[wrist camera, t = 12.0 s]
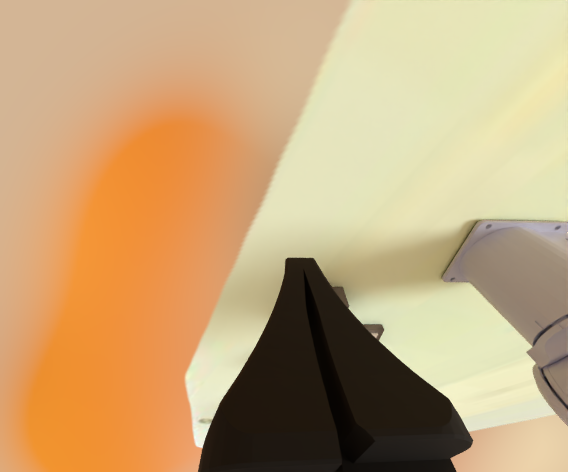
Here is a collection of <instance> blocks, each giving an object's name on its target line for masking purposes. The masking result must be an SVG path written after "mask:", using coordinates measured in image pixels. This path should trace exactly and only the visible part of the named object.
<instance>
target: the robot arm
mask: <svg viewBox="0 0 568 472" xmlns="http://www.w3.org/2000/svg"><path fill="white" fill-rule="evenodd" d="M442 280H443V281H444V282H470V283H471V284H472V285H473V286H474V287H475V288H476V289H477V290H478V291H479V292H480V293H481V294H482V296H483V297H484V298H485V299H486V300H487V301H488V302H489V303H490V304H491V305H492V306H493V307H494V308H495V309H496V310H497V311H498V312H499V313H500V314H501V315H502V316H503V317H504V318H505V319H506V320H507V321H508V322H509V323H510V324H511V325H512V326H513V327H514V328H515V329H516V330H517V331H518V332H519V333H520V334H521V335H522V336H523V337H524V338H525V339H526V341H527V342H528V343H529V344H530V345H531V346H532V348H531V349H530V350H528V351H527V352H526V353H527V354H528V355H529V356H530V357H531V358H532V359H533V360H534V361H535V362H536V363H537V364H535V365H534V366H533V375H534V378H535V381H536V384H537V387H538V389H539V391H540V393H541V394H542V396H543V397H544V399H545V400H546V402H547V403H548V404H549V406H550V407H551V408H552V409H553V410H554V412H555V413H556V414H557V415H558V416H559V417H560V418H561V419H562V420H563V422H564V423H565V424H566V425H567V426H568V222H560V221H509V220H481V221H479V222H477V223H476V225H475V226H474V228H473V230H472V231H471V233H470V234H469V236H468V237H467V239H466V240H465V242H464V244H463V245H462V247H461V248H460V250H459V251H458V253H457V255H456V256H455V258H454V259H453V261H452V262H451V264H450V265H449V267H448V269H447V270H446V272H445V273H444V275H443V276H442ZM472 442H473V439H472V438H471V436H470V434H469V432H468V430H467V429H466V427H465V425H464V423H463V421H462V419H461V417H460V416H459V414H458V412H457V411H456V409H455V408H454V406H453V405H452V403H451V401H450V400H449V399H448V398H447V397H446V396H444V395H443V394H442V393H440V392H439V391H438V390H436V389H435V388H434V387H433V386H431V385H430V384H429V383H427V382H426V381H425V380H423V379H422V378H421V377H419V376H418V375H417V374H416V373H414V372H413V371H412V370H411V369H410V368H408V367H407V366H406V365H405V364H404V363H402V362H401V361H400V360H399V359H398V358H397V357H396V356H395V355H393V354H392V353H391V352H390V351H389V350H388V349H387V348H386V347H385V346H384V345H383V344H382V343H380V342H379V341H378V340H377V339H376V338H375V337H374V336H373V335H372V334H371V333H370V332H369V331H368V330H367V329H366V328H365V327H364V326H363V325H362V323H361V322H360V321H359V320H358V319H357V318H356V317H355V316H354V315H353V313H352V312H351V311H350V310H349V309H348V307H347V306H346V305H345V304H344V302H343V301H342V300H341V299H340V297H339V296H338V295H337V293H336V292H335V291H334V289H333V288H332V286H331V285H330V284H329V282H328V281H327V279H326V278H325V276H324V274H323V273H322V271H321V270H320V268H319V266H318V265H317V263H316V261H315V260H314V258H287V259H286V261H285V274H284V279H283V282H282V286H281V289H280V293H279V295H278V298H277V301H276V304H275V306H274V309H273V311H272V314H271V316H270V318H269V320H268V323H267V325H266V327H265V329H264V331H263V333H262V335H261V337H260V339H259V341H258V343H257V344H256V346H255V348H254V350H253V352H252V353H251V355H250V357H249V358H248V360H247V362H246V363H245V365H244V367H243V368H242V370H241V372H240V373H239V375H238V377H237V378H236V380H235V381H234V383H233V384H232V386H231V387H230V389H229V390H228V392H227V393H226V395H225V396H224V398H223V399H222V401H221V402H220V404H219V407H218V409H217V411H216V413H215V416H214V418H213V420H212V423H211V425H210V428H209V430H208V433H207V436H206V439H205V442H204V445H203V449H202V454H201V459H200V464H199V470H198V472H456V470H455V468H454V465H453V463H452V461H451V459H450V458H451V457H453V456H455V455H457V454H460V453H462V452H464V451H466V450H467V449H469V448H470V447H471V445H472Z"/></svg>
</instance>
